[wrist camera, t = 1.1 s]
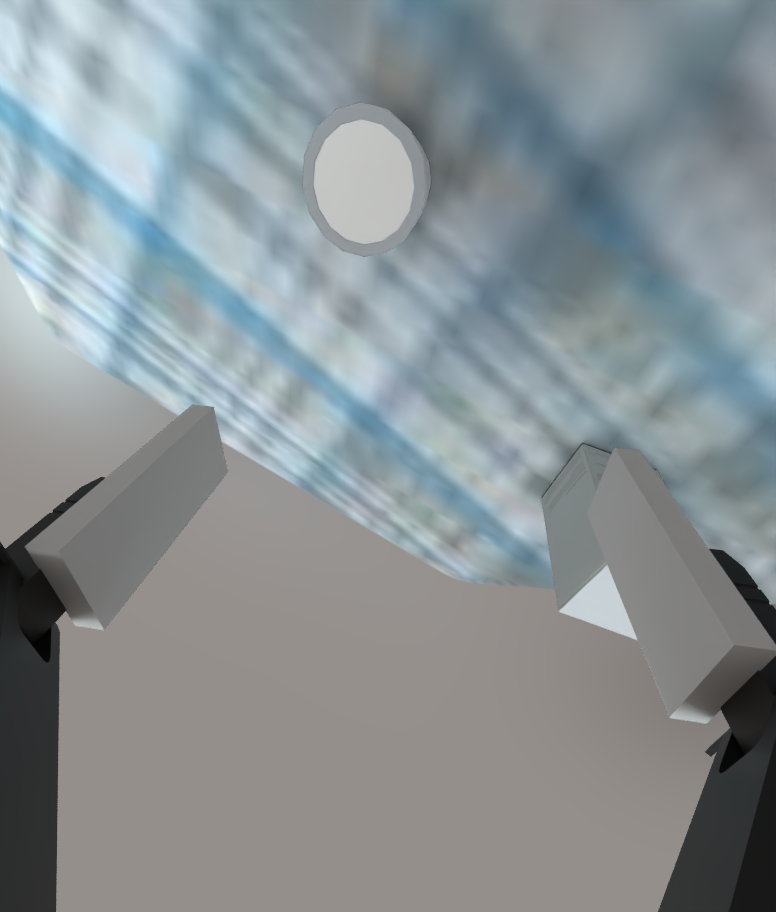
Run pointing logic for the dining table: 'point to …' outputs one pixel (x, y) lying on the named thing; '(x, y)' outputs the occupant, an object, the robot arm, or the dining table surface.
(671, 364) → the dining table surface
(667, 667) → the robot arm
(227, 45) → the dining table surface
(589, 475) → the supplement box
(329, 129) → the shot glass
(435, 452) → the dining table surface
